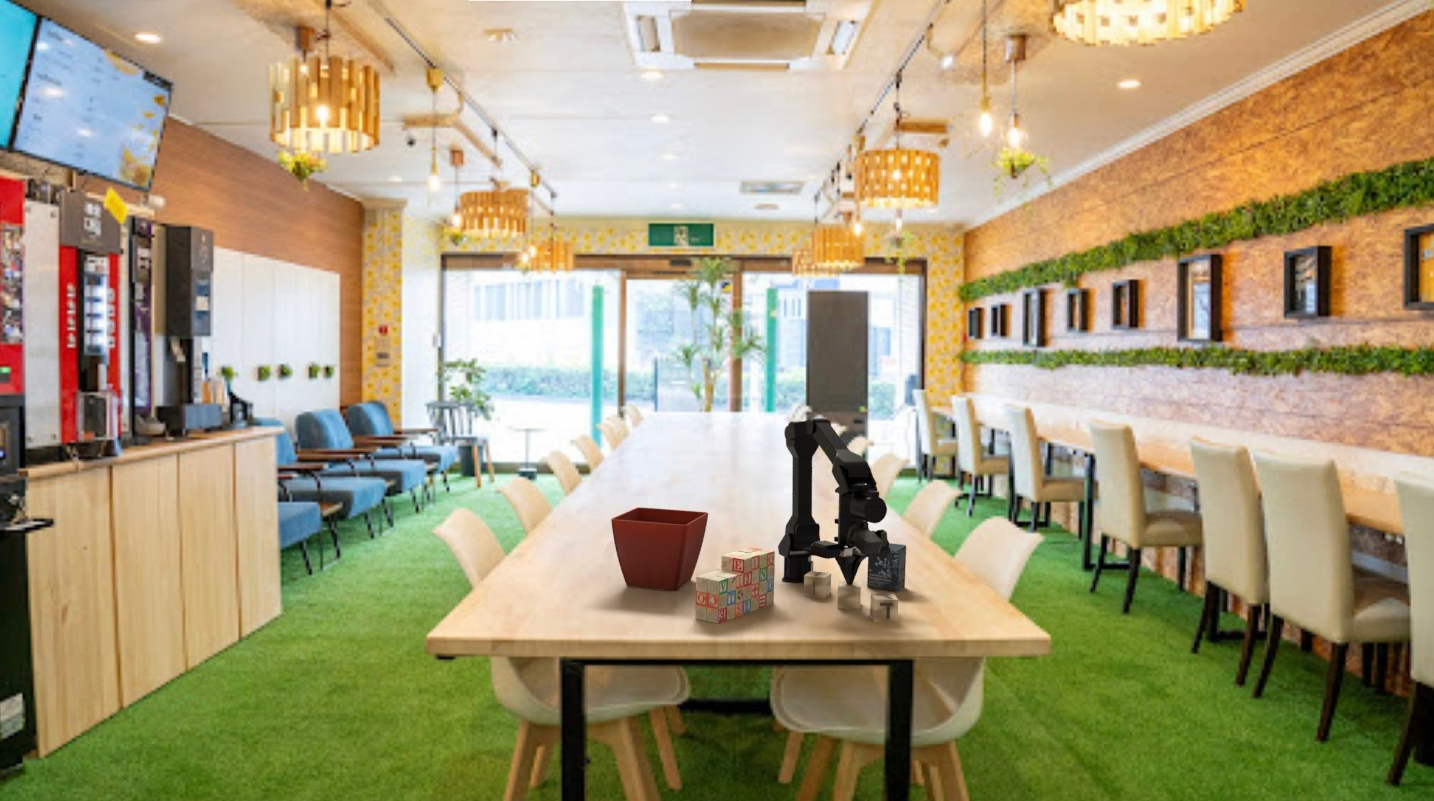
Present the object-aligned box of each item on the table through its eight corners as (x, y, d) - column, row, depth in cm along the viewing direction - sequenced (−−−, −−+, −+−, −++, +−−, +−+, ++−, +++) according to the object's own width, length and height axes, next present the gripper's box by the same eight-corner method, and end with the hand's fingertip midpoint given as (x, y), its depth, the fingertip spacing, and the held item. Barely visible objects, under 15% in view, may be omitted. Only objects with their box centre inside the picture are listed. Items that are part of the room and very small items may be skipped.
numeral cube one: (803, 596, 223) (803, 575, 222) (810, 591, 228) (811, 570, 227) (823, 598, 221) (824, 577, 220) (830, 593, 226) (831, 572, 225)
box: (866, 587, 231) (867, 544, 231) (874, 582, 236) (875, 540, 236) (897, 592, 227) (899, 548, 227) (905, 587, 232) (906, 544, 232)
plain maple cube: (837, 608, 213) (837, 586, 212) (838, 602, 218) (838, 580, 217) (860, 609, 212) (860, 587, 212) (860, 603, 217) (861, 582, 216)
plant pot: (708, 577, 239) (709, 511, 238) (685, 596, 220) (686, 524, 219) (636, 571, 244) (637, 506, 243) (608, 589, 226) (609, 519, 225)
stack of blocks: (718, 624, 199) (719, 566, 198) (694, 619, 203) (695, 562, 202) (774, 603, 216) (775, 549, 215) (751, 598, 220) (752, 546, 219)
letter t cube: (874, 622, 202) (874, 598, 202) (870, 615, 208) (870, 592, 207) (897, 622, 203) (898, 599, 202) (893, 615, 208) (893, 593, 207)
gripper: (842, 525, 202) (840, 597, 203) (907, 517, 212) (905, 587, 213) (809, 516, 211) (808, 586, 212) (873, 510, 221) (871, 576, 222)
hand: (849, 584), depth 214 cm, fingers closed, pressing on plain maple cube
